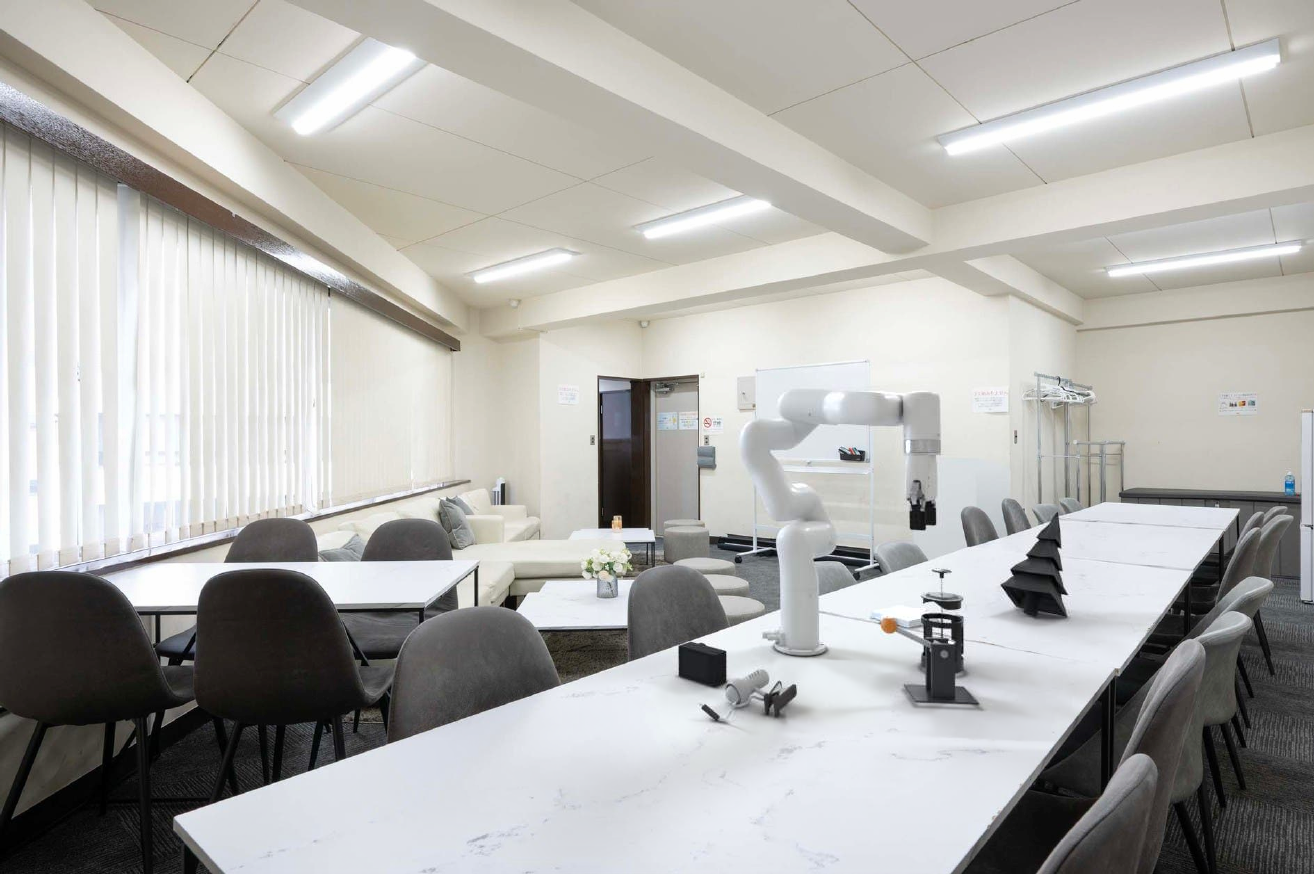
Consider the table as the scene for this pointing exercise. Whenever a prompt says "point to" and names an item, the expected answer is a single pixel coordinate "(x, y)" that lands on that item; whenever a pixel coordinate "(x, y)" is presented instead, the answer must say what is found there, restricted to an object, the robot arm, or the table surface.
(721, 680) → the digital camera
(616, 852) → the table surface
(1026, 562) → the decorative tree
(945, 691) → the switch bracket
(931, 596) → the french press
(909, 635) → the switch lever
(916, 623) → the mounting plate
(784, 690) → the clip-on lamp
